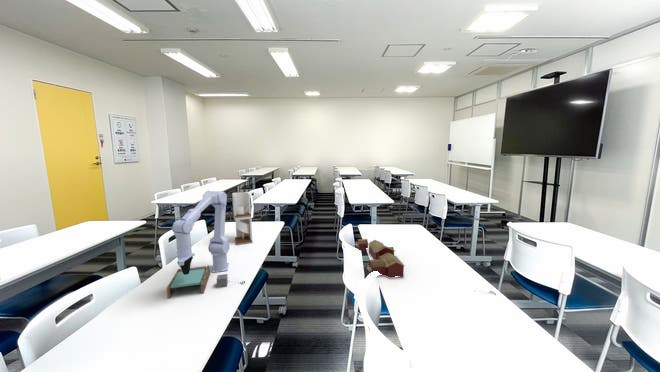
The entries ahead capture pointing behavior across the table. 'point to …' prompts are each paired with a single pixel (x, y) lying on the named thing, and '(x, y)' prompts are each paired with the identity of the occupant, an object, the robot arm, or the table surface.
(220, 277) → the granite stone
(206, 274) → the frame
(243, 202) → the display case
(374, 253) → the toy houses
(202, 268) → the trapdoor
